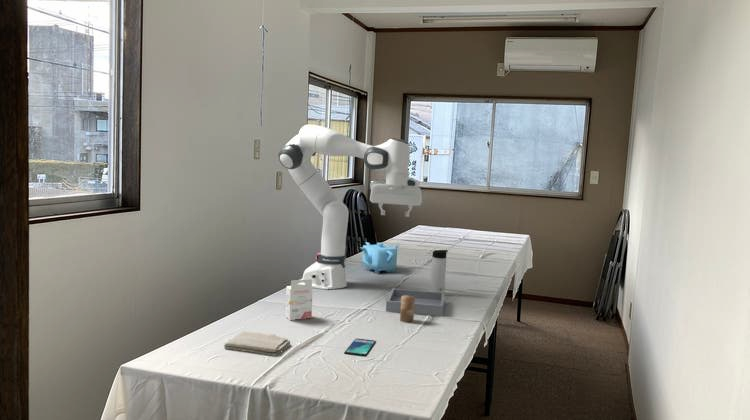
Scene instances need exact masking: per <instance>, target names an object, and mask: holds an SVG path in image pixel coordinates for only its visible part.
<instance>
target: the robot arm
mask: <svg viewBox="0 0 750 420" xmlns="http://www.w3.org/2000/svg"><path fill="white" fill-rule="evenodd" d="M410 152H411V151H410V145H409V142H408V141H406V140H404V139H401V138H396V137H392V138H389V139H388V140H386V141H385V142H383V143H380V144H377V145H371V144H368V143H366V142H365V143H364V142H361V141H357V140H355V139H354V138H352V137H349V136H347V135H345V134H343V133H341V132H339V131H337V130H334V129H333V128H330V127H325V126H322V125H317V124H305V125H304V126H303V125H302V127H301V128H300V129H299V132H298V134H296V135H295V136H293V137H292V138H291V139H290V140H289V141H287V143H286V144H285V145H284V146H282V147H281V148H280V150H279V152H278V154H277V155H278V156H277V157H278V161H279V162H280V164H281V165H282V166H283V167H284V168H285V169H287V171H288V173H289V174H290V176H291V178H292V179H293V181H294V182H295V184H296V185H297V186H298V187H299V189H300V190H301V191H302V193H303V194H304V195H305V196H306V198H307V199H308V200H309V202H311V204H312V205H313V206H314V207H315V209H316V210H317V212H319V214H320V215H321V216H322V217H323V218H322V229H321V239H320V252H318V253H317V254H316V257H315V262H314V263H312V264H311V265H310V266H308V267H307V268H305V269H304V271H303V275H302V278H300V279H299V280H308V279H312V289H321V290H328V289H329V290H334V289H335V290H336V289H343V288H346V287H347V286H348V283H347V278H346V277H347V276H346V266H347V255H346V242H347V232H348V223H349V208H348V206H347V205H346V204H345V203H344V202H343V201H342V200H341V198H340V197H339V196H338V195H337V193H336V192H335V191H334V190H333V188H332V187H331V185H330V184H329V183H328V182H327V180H326V179H325V178H324V177H323V175H322V174H321V173H320V171H319V170H318V169H317V168H316V166H315V165H314V164H313V163H312V157H314V156H316V154H320V155H323V156H326V157H327V156H328V157H329V156H330V157H356V158H358V159H363V163H364V165H365V167H366V168H367V169H368V170H371V171H376V172H377V171H380V172H381V171H383V172H384V171H385V179H377V178H376V179H372V180H371V181H370V184H369V185H370V186H369V189H370V190H371V191H370V195H369V196H370V197H369V201H370V202H371V204H378V208H379V209H380V215H381V216H386V210H384V209H383V205H384V204H385V205H386V204H387V205H403V206H408V211H405V212H404V217H407V218H408V217H409V218H410V212H411V210H412V209H413V206H416V207H417V206H418V207H420V206H421V205H422V204H423V202H422V201H423V197H422V196H423V195H422V190H421V188H420V187H419V186H420V185H421V184H420V181H419V180H417V179H415V178H413V177H410V175H409V174H410V171H409V164H410V155H411V154H410ZM304 284H305V283H302V282H301V283H298V285H304ZM329 290H328V291H329Z"/></svg>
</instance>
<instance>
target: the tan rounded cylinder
mask: <svg viewBox="0 0 750 420" xmlns="http://www.w3.org/2000/svg"><path fill="white" fill-rule="evenodd" d="M414 305H415V297H414V296H410V295H404V296H401V313H399V314H400V315H399V318H400V319H399V320H400V322H402V323H404V324H405V323H407V324H409V323H414V319H415V318H414V317H415V314H414Z"/></svg>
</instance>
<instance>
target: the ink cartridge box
mask: <svg viewBox="0 0 750 420" xmlns="http://www.w3.org/2000/svg"><path fill="white" fill-rule="evenodd" d="M301 282H302V283H305V284H304V285H298V283H301ZM285 290H286V291H285V318H286V317H287V318H288V319H287V318H286V319H287V320H289V321H290V320H292V321H296V320H295V319H302V320H307V319H306V318H311V319H312V317H313V316H312V315H313V313H312V310H313V309H312V308H313V288H312V279H308V280H300V279H296V280H295V279H293V280H291V281H290V285H287V286H286V289H285Z"/></svg>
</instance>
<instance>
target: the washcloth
mask: <svg viewBox="0 0 750 420" xmlns="http://www.w3.org/2000/svg"><path fill="white" fill-rule="evenodd" d="M288 345H289V346H290V345H291V340H289V339H288V337H283V336H279V335H276V334H274V333H272V334H269V333H261V332H250V331H241V332H239V333H238V334H237V335H235V337H233V338H231V339H230V340H228V341H226V342H225V343H224V345H223V346H224V349H225V350H231V349H234V350H233V351H238V350H244V351H243V352H245V351H250V352H249V353H252V352H256V353H255V354H260V353H264V354H263V355H266V354H269V355H268V356H273V355H276V356H277V355H279V354H278V353H280V352H281V351H282V350H283V349H284V348H286V347H287V346H288ZM289 346H288V347H289ZM288 347H287V348H288ZM284 350H285V349H284ZM284 350H283V351H284ZM283 351H282V352H283ZM282 352H281V353H282ZM281 353H280V354H281Z"/></svg>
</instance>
